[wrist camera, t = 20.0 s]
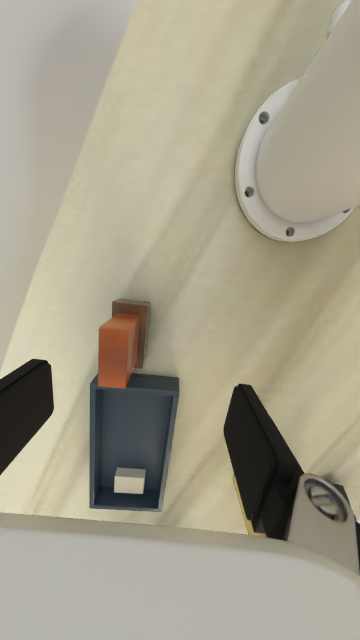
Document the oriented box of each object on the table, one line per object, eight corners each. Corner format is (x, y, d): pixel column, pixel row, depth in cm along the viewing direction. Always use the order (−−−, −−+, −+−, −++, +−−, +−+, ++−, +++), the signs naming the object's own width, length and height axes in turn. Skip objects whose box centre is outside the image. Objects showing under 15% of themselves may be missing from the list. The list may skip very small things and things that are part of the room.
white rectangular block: (117, 467, 26) (114, 476, 25) (146, 469, 26) (144, 478, 25) (116, 482, 26) (113, 492, 25) (144, 484, 27) (142, 494, 26)
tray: (100, 369, 22) (89, 383, 20) (178, 377, 23) (179, 391, 20) (97, 484, 27) (89, 508, 25) (162, 488, 28) (161, 512, 25)
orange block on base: (119, 297, 20) (89, 312, 13) (151, 301, 20) (138, 318, 13) (116, 355, 22) (89, 396, 15) (146, 358, 22) (132, 400, 15)
